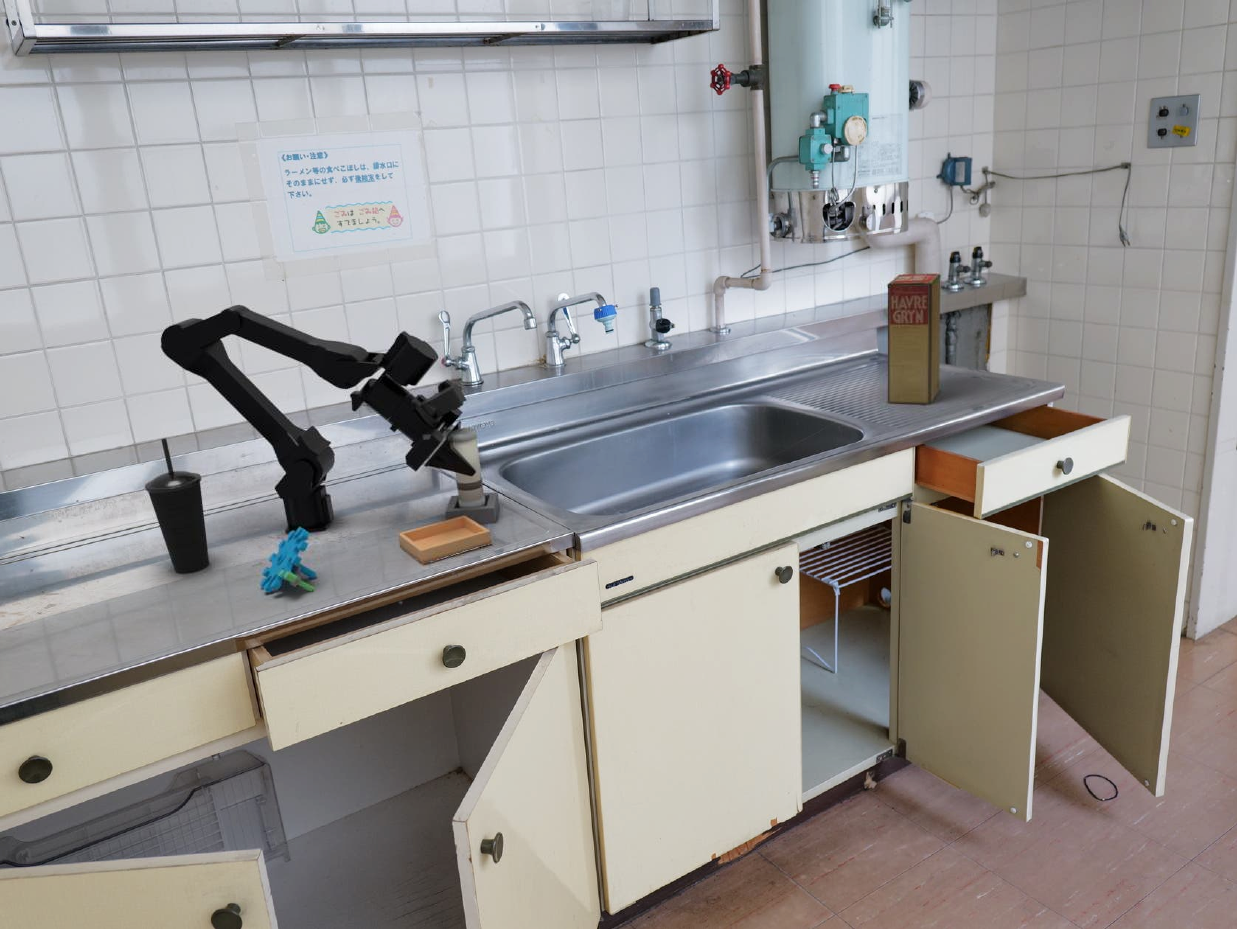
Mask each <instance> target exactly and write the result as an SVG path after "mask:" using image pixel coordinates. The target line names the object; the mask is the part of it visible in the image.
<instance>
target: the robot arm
mask: <svg viewBox="0 0 1237 929" xmlns="http://www.w3.org/2000/svg"><path fill="white" fill-rule="evenodd" d="M230 335H233V336H237V337H239V338H242V339H243V340H247V341H249V342H251V343H253V344H256V345H258V346H260V347H263V348H265V349H268V350H270V351H271V352H272V351H273V352H275V353H277V354H280V355H282V356H285V357H287V358H288V359H289V358H290V359H291V360H294V361H296V362H299V363H301V364H303V365H305V366H306V367H308V368H310V369H311V371H312V372H314V374H316V376H318V377H320V379H322V380H324V381H326V382H327V383H328V384H330V385H331V386H333V387H335V388H338V389H341V390H349V389H352V388H355V387H356V386H358V385H359V384H361V382H363V381H364V380H365V379H367V378H369V379H368V380H367V381H366V382H365V383H364V384H363V386H362V388H360V390H354V391H352V392H351V393H350V394H349V397H350V399H351V411H353V412H357V411H358V410H359V409H361V407H363V405H364V404H365V405H367V406H368V407H369V409H371V410H373V411H374V412H375V413H377V415H378V416H380V418H382V419H384V421H386V422H388V423H389V424H390V427H389V430H391V431H392V432H393V433H396V431H399V432H400V433H402V434H403V435H404V436H405V437H406V438H407V439H408V440H409V441H412V443H411V444H410V446H411V448H410V449H409V450H408V452H407V453H406V454H405V456H404V457H405V464H406V465H407V466H408V467H409V468H410V469H412V470H413V471H414V472H417V471H418V470H419V469H420V468H421V467H422V465H423V464H424V463H425V464H424V465H423V466H424V467H425V468H427V467H430V468H433V469H434V468H436V469H440V470H444V471H449V472H453V473H455V472H456V473H460V474H464V475H467V476H471V477H472V476H473V475H474V474H475V473H476V470H475V469H474V468H473V467H472V466H471V464H470V463H469V462H468V461H467V460H466V459H465V458H464V457H463V456H462V455H461V454H460V453H459V452H458V451H457V450H456V449H455V448H454V446H453V441H452V435H451V433H450V432H451V431H454V430H457V429H462V422H461V421H462V420H459V421H458V422H457V423H456V424H455V425H454V423H455V422H456V421H457V420H458V419H459V418H460V417H461V416H462V414H463V411H462V410H461V409H460V408H461V407H462V406H463V405H464V402H467V398H466V396H465V395H464V392H463V391H462V390H463V387H462V386H461V385H459V384H458V383H457V382H452V380H451V381H450V379H445V380H444V381H442V382H439V384H438V385H437V390H438V392H436V393H434V394H433V395H432V396H429V397H428V398H427V397H425V396H424V395H422V394H417V395H416V396H415V395H414V394H412V393H411V392H410V391H409V390H408V389H406V387H408V386H412V387H415V386H417V385H418V384H419V383H420V382H421V381H422V379H423V378H424V377H425V376H426V374H427V373H428V372H429V370H431V368H432V367H433V366H434V364H435V363H436V362H437V361H438V359H439V354H438V353H437V351H436V350H435V349H434V348H433V347H432V346H431V345H430V343H428V342H427V341H425V340H421V339H420V338H418V337H416V336H414V335H410V334H409V333H408V332H407V331H406V330H403V331H401V332H400V333H399V334H398V335H397V337H396V338H395V340H394V342H393V343H392V345H391V346H390V347H389V349H388V350H387V351H386V352H377V351H376V352H373V351H367V349H365V348H364V347H362V346H360V345H357V344H352V343H347V342H343V341H339V340H338V341H337V340H328V339H323V338H318V337H315V336H312V335H311V334H308V333H306V332H304V331H301V330H298V329H296V328H294V327H292V326H289V325H286V324H285V323H282V322H280V321H277V320H274V319H272V318H270V317H267V316H265V315H263V314H260V313H257V312H256V311H253V310H251V309H250V308H249V307H247V306H245V305H241V304H234V305H232V306H229V307H226V308H224V309H223V310H221V311H220V312H219V313H216V314H214V315H213V316H210V317H206V318H205V319H202V318H196V317H195V318H194V317H192V318H189V319H185V320H183V321H180V322H177V323H174V324H172V325H169V326H167V327H166V328H164V330H163V332H162V333H161V335H160V336H161V337H160V349H161V351H162V352H163V354H164V355H165V357H167V358H168V359H169V360H171V361H172V362H173V363H175V364H176V365H178V366H179V367H180V368H181V369H183V370H185V371H188V372H189V373H191V374H194V375H196V376H198V377H200V378H202V379H203V380H206V381H207V382H208V383H209V384H210V385H211V386H212V387H213V388H214V389H215V390H216V391H217V392H218V393H219V394H220V395H221V396H222V397H223V399H224V400H226V401H227V402H228V403H229V404H230V405H231V406H232V407H233V408H234V409H235V411H237V412H238V413H239V414H240V415H241V416H242V417H243V418H244V419H245V421H247V422H248V423H249V424H250V426H252V427H253V428H254V429H255V430H256V432H258V434H260V435H261V436H262V437H263V438H264V439H265V441H267V442H268V443H269V444H270V445H271V447H272V450H273V451H274V454H275V457H276V459H277V462H278V464H279V466H280V467H281V468H282V470H283V471H284V472H285V474H284V475H283V476H282V478H281V479H280V480H279V481H278V482H277V484H276V485H275V487H274V490H275V491H276V494H277V496H278V497H279V499H281V500H282V502H283V509H284V512H285V516H286V518H285V519H286V524H287V526H286V527H285V529H284V532H285V534H289V533H290V532H291V531H293V530H294V531H295V532H296V531H297V529H298V528H299V527H301V528H303V529H304V530H306V531H307V532H316V531H318V532H319V531H325V530H326V529H327V528H328V527H329V525H330V523H331V522H333V519H334V518H335V514H334V509H333V508H334V507H333V503H332V496H331V494H330V493H328V492H327V487H326V484H323V482H324V483H325V481H326V480H327V477H328V473H329V472H330V471H331V470H332V469H333V467H334V465H335V463H336V462H335V452H334V450H333V448H332V447H331V446H330V445H331V444H332V441H330V440H327V439H326V438H325V437H324V436H322V434H321V433H320V431H319V430H318V428H317V427H315V426H314V425H311V426H310V427H309V428H308V429H303V428H301V427H299V426H297V425H295V423H293V422H292V421H291V420H290V419H289V418H288V417H287V416H286V414H284V413H283V412H282V411H281V410H280V409H279V408H278V407H277V406H276V405H275V404H274V403H273V402H272V401H271V400H270V399H269V398H268V397H267V396H266V395H265V394H264V393H263V392H262V391H261V390H260V389H259V388H258V387H257V386H256V385H255V384H254V383H253V382H252V381H251V379H249V378H248V377H247V376H246V375H245V373H243V372H242V371H241V370H240V368H238V367H237V366H236V364H234V362H233V361H231V359H230V358H229V355H228V352H227V350H226V347H225V346H224V345H225V344H224V342H223V340H222V339H224V338H226V337H229V336H230ZM382 369H384V370H383V371H382V373H381V374H380V376H379V377H378V378H376V377H375V378H374V377H373V376H374V375H375V374H376V373H378V372H379V371H380V370H382ZM372 377H373V378H372ZM449 433H450V434H449ZM481 464H482V462H481V461H480V465H481ZM456 473H455V474H456Z"/></svg>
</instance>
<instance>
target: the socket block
mask: <svg viewBox="0 0 1237 929" xmlns="http://www.w3.org/2000/svg"><path fill="white" fill-rule="evenodd" d="M484 496H485V503H486V506H480V507H468V508H459V500H458V499H459V496H458V494H457V495H451V496H450V498H449V502H448V504H447V507H446V509H445V519H446V520H450V519H454V518H457V517H461V516H464V515H465V516H467V517H468V518H470V519H471V520H473V521H475V522H476V523H478V524H479V525H485V524H495V523H497V522H496V521H497V518H498V513H499V509H500V500H499V493H498V492H497V491H496V492H484ZM446 520H445V521H446Z"/></svg>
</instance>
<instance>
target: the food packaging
mask: <svg viewBox="0 0 1237 929" xmlns="http://www.w3.org/2000/svg"><path fill="white" fill-rule="evenodd" d="M941 276H942V275H941V274H940V273H914V274H913V273H908V274H906V273H905V274H898V275H897V276H896V277H894V278H893V280H891V281H890V282H889V283H887V285H886V286H887V404H894V405H895V404H897V405H927V406H928V405H929V406H930V405H932V403H933V402H934V400H935V398H936V397H937V396H938V395H939V393H940V370H941V369H940V365H941V364H940V362H941V361H940V360H941V359H940V358H941V357H940V356H941V355H940V352H941V351H940V350H941Z"/></svg>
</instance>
